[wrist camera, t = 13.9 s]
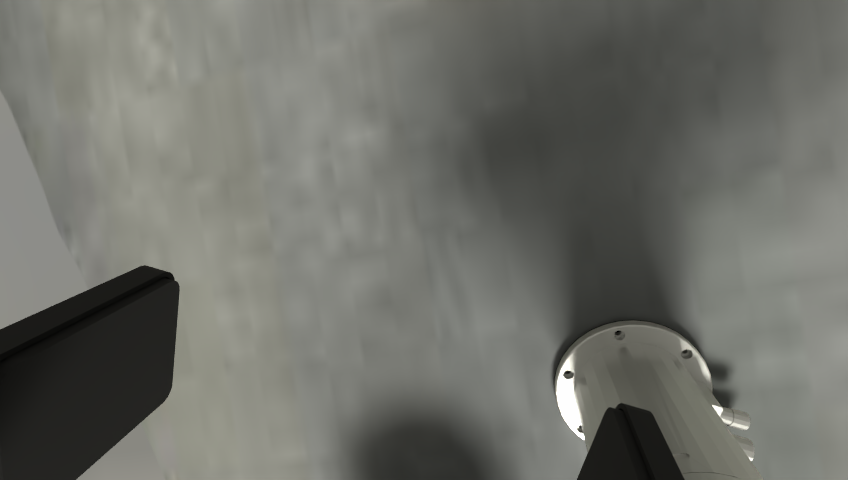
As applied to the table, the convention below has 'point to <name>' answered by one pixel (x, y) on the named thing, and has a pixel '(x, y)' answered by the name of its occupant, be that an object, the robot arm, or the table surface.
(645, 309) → the table surface
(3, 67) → the table surface
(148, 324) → the robot arm
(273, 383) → the table surface
